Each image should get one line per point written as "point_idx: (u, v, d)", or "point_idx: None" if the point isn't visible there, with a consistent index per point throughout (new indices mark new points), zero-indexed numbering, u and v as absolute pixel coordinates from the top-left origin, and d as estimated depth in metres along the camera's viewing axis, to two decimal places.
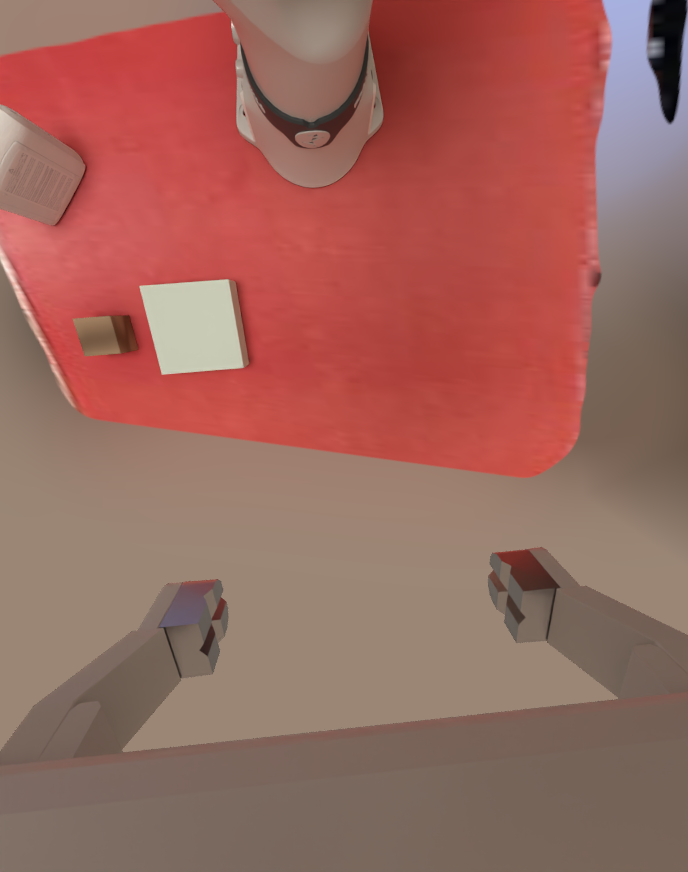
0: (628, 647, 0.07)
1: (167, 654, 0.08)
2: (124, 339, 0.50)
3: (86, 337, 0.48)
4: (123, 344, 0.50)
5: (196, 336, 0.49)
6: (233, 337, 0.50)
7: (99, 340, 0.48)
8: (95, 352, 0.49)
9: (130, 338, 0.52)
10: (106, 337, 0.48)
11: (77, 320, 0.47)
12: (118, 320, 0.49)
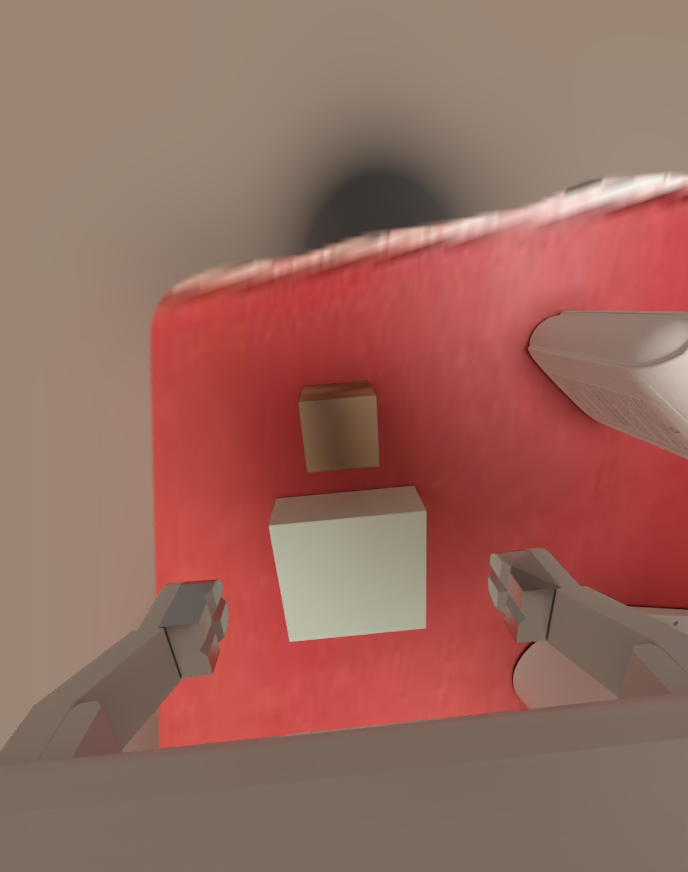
0: (628, 648, 0.07)
1: (167, 654, 0.08)
2: None
3: (338, 414, 0.22)
4: None
5: (340, 583, 0.28)
6: (339, 630, 0.30)
7: (331, 437, 0.23)
8: (306, 425, 0.23)
9: None
10: (337, 451, 0.23)
11: (372, 404, 0.22)
12: None
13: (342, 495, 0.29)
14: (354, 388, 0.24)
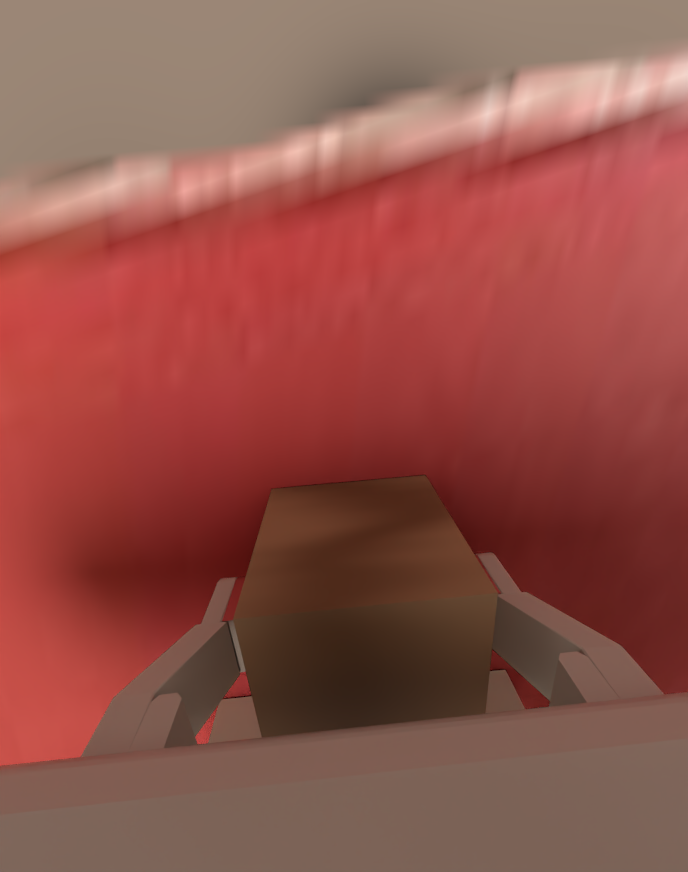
0: (560, 655, 0.07)
1: (229, 648, 0.08)
2: None
3: (368, 646, 0.07)
4: None
5: None
6: None
7: (345, 701, 0.07)
8: (265, 676, 0.07)
9: None
10: None
11: (482, 617, 0.07)
12: None
13: None
14: (404, 521, 0.09)
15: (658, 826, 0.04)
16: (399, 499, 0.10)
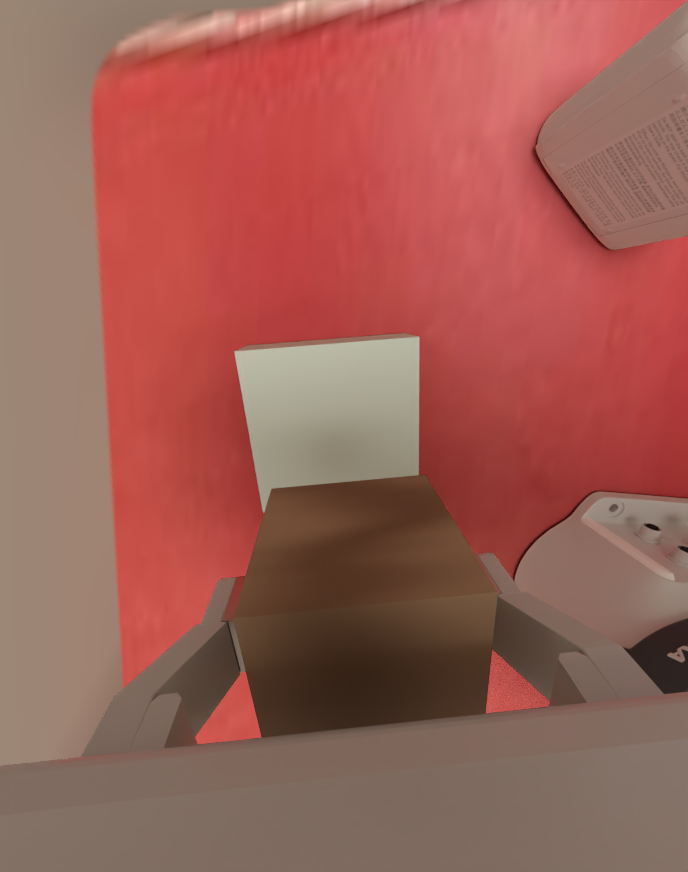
0: (560, 654, 0.07)
1: (229, 648, 0.08)
2: None
3: (369, 645, 0.07)
4: None
5: (320, 434, 0.24)
6: None
7: (345, 701, 0.07)
8: (265, 676, 0.07)
9: None
10: None
11: (482, 616, 0.07)
12: None
13: (323, 339, 0.26)
14: (404, 521, 0.09)
15: (658, 826, 0.04)
16: (399, 499, 0.10)
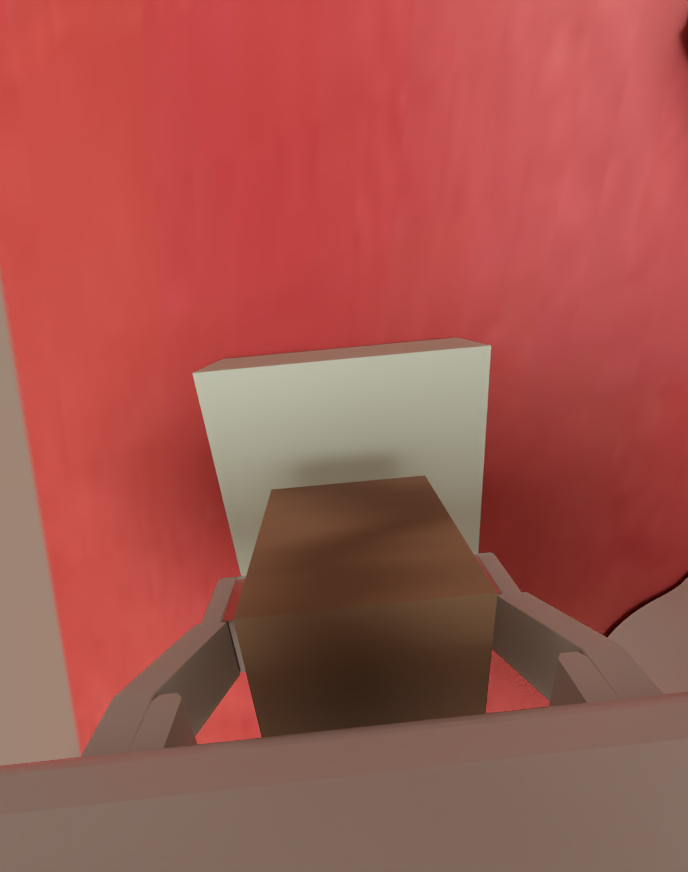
0: (560, 654, 0.07)
1: (229, 648, 0.08)
2: None
3: (369, 646, 0.07)
4: None
5: None
6: None
7: (345, 702, 0.07)
8: (265, 677, 0.07)
9: None
10: None
11: (482, 617, 0.07)
12: None
13: (335, 349, 0.17)
14: (404, 522, 0.09)
15: (658, 826, 0.04)
16: (399, 499, 0.10)
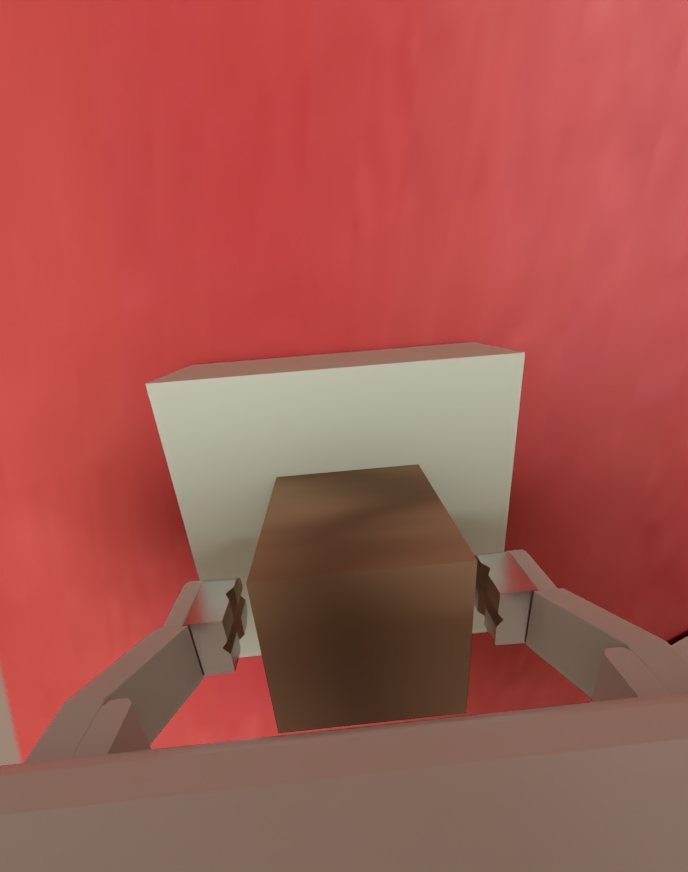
0: (602, 650, 0.07)
1: (191, 652, 0.08)
2: None
3: (364, 609, 0.08)
4: None
5: None
6: None
7: (344, 660, 0.08)
8: (273, 636, 0.08)
9: None
10: (359, 689, 0.09)
11: (464, 582, 0.08)
12: None
13: (329, 355, 0.14)
14: (398, 503, 0.10)
15: (658, 826, 0.04)
16: (393, 485, 0.11)
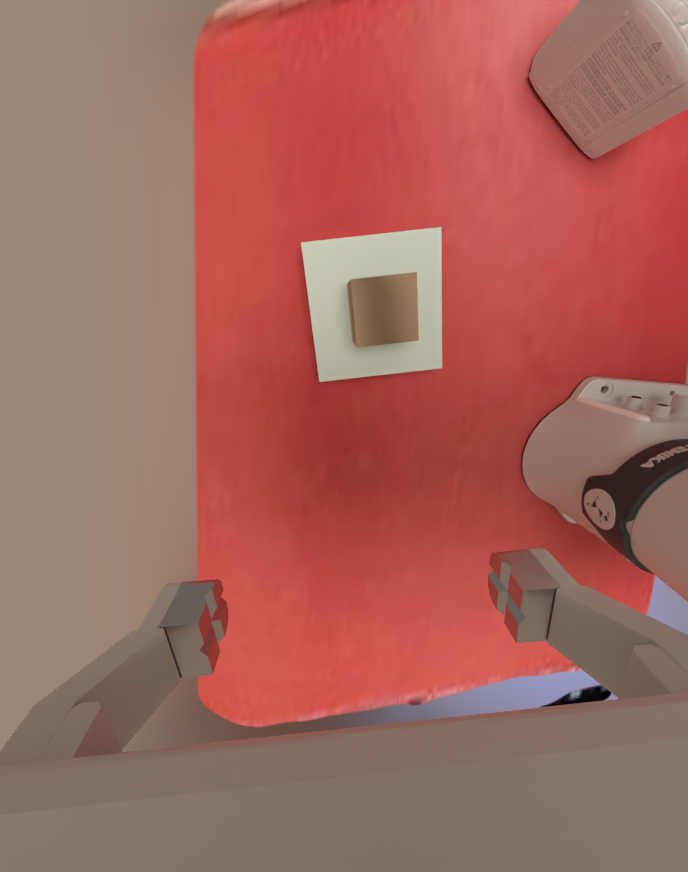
0: (628, 648, 0.07)
1: (167, 654, 0.08)
2: None
3: (384, 290, 0.26)
4: None
5: None
6: (363, 369, 0.33)
7: (378, 313, 0.27)
8: (357, 301, 0.26)
9: None
10: (383, 327, 0.27)
11: (413, 280, 0.26)
12: None
13: None
14: None
15: (658, 826, 0.04)
16: None
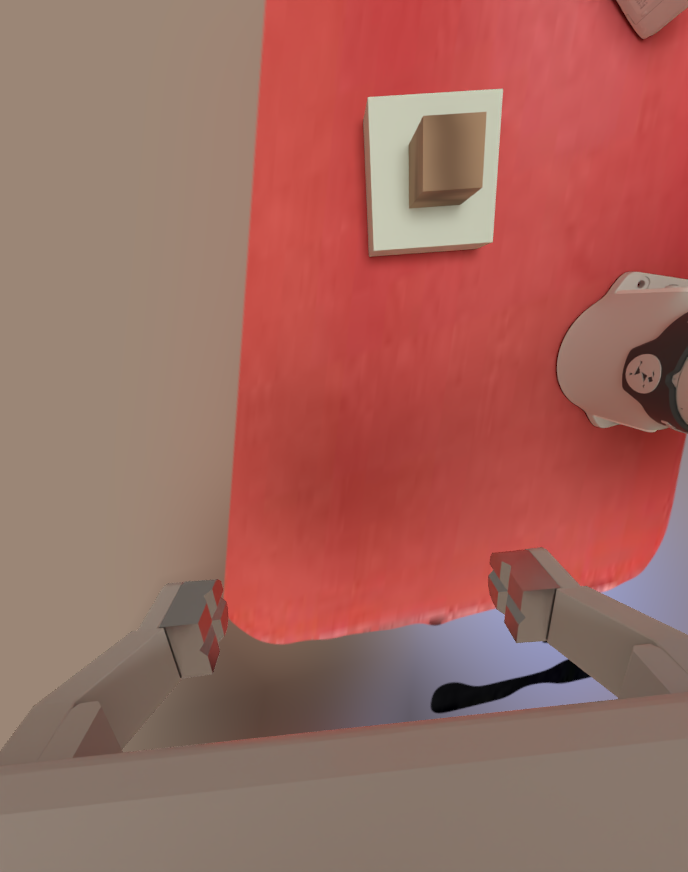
0: (628, 648, 0.07)
1: (167, 654, 0.08)
2: (436, 197, 0.30)
3: (454, 130, 0.27)
4: (431, 195, 0.30)
5: None
6: (417, 239, 0.34)
7: (446, 154, 0.28)
8: (427, 140, 0.27)
9: (431, 203, 0.32)
10: (449, 170, 0.28)
11: (482, 120, 0.27)
12: (466, 194, 0.30)
13: None
14: None
15: (658, 826, 0.04)
16: None
